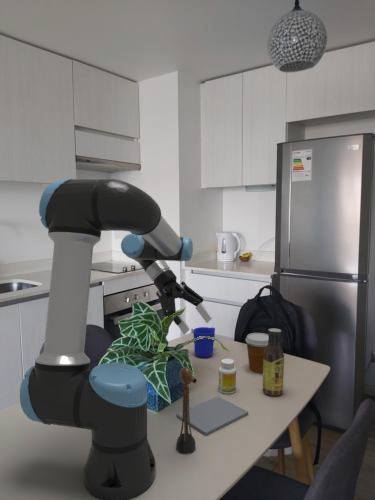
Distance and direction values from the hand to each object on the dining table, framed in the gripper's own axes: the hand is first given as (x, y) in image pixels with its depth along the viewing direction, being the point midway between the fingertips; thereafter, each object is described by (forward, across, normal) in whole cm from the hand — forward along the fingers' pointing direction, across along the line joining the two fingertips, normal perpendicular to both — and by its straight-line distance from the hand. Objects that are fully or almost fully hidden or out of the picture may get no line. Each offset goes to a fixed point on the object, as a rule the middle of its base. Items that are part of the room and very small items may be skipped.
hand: (199, 326), depth 129 cm
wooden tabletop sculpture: (+25, +33, -1) cm, 41 cm away
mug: (+6, -22, -21) cm, 31 cm away
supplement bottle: (+21, +1, -6) cm, 22 cm away
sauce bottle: (+30, -6, +3) cm, 31 cm away
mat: (+24, +16, -3) cm, 29 cm away
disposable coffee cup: (+22, -20, -5) cm, 30 cm away
